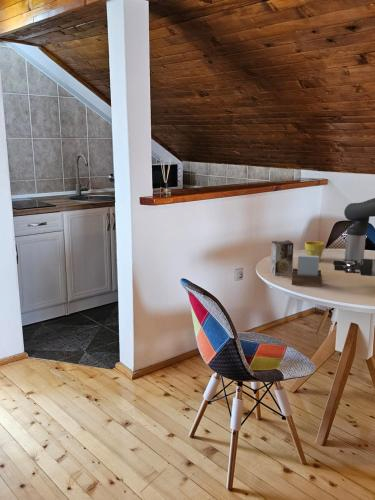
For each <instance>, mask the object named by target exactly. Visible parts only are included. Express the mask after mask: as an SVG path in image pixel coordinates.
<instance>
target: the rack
mask: <svg viewBox="0 0 375 500" xmlns="http://www.w3.org/2000/svg"><path fill="white" fill-rule="evenodd" d="M297 271H298V268H292V275H291V285H293V286H294V285H295V286H308V287H322V282H323V281H322V278H323V277H322V270H321V269H318V276H306V275H297Z"/></svg>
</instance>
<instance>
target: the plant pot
mask: <svg viewBox="0 0 375 500" xmlns="http://www.w3.org/2000/svg"><path fill="white" fill-rule="evenodd" d="M325 244H326V243H324V242H321V241H316V240H315V241H313V240H312V241H311V240H310V241H305V242H304V249H305V252H306V255H311V256H319V262H320V261H321V259H322V255H323V252H324V250H325Z"/></svg>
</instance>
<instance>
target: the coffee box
mask: <svg viewBox="0 0 375 500" xmlns="http://www.w3.org/2000/svg"><path fill="white" fill-rule="evenodd" d="M270 253H271V254H270V255H271V256H270V258H271V260H270V273H271V274H272V275H273V276H274V277H277V276H278V277H279V276H292V271H293V263H294V262H293V260H294V243H293V242H292V241H291V240H288V239H287V240H272V241H271V252H270Z"/></svg>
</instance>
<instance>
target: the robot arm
mask: <svg viewBox="0 0 375 500" xmlns="http://www.w3.org/2000/svg"><path fill="white" fill-rule="evenodd" d="M343 214H344V217H345V218H346V219H347V220H348V221H350V222H354V224H353V225H350V226H348V227H347V230H346V243H345V252H344V254H345V255H344V259H343V260H333V266H334V271H338V272H340V271H341V272H345V274H357V275H358V274H360V276H364V277H365V276H366V277H375V259H374V258H365V250H366V249H365V247H366V239H367V238H366V236H367V231H368V228H369V225H370V224H369V222H370V218H372V217H375V197H374V198H370V199H367V200H365V201H361V202H353V203H349V204H347V205H346V207H345V209H344V213H343Z"/></svg>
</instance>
